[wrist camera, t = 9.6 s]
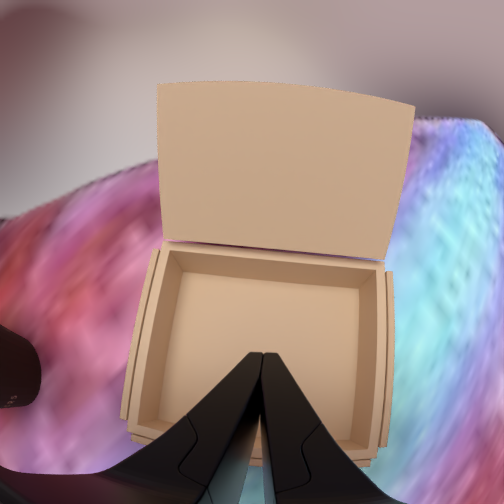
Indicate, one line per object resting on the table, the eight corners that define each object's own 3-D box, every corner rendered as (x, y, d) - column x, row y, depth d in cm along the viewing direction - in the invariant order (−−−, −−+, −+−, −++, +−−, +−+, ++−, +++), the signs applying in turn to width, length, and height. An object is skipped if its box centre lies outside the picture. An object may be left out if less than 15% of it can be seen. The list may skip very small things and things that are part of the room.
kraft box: (360, 451, 16) (383, 464, 12) (143, 428, 17) (117, 436, 13) (370, 283, 21) (391, 261, 17) (172, 264, 22) (155, 238, 18)
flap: (384, 259, 16) (415, 106, 12) (163, 238, 17) (157, 84, 13) (381, 254, 17) (410, 105, 12) (167, 234, 18) (161, 84, 13)
